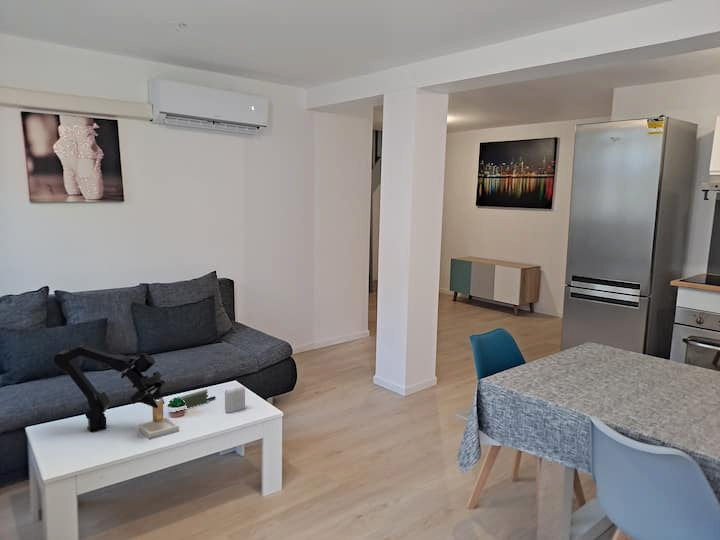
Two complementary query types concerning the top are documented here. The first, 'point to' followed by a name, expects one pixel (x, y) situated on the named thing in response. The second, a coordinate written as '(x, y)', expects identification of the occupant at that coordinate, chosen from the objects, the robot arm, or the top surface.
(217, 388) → the top surface
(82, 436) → the top surface
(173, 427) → the tray
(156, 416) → the battery cell
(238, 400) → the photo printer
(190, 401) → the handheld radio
